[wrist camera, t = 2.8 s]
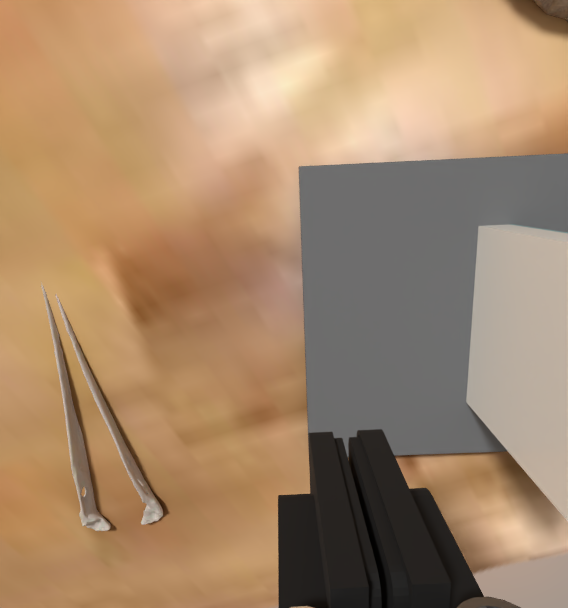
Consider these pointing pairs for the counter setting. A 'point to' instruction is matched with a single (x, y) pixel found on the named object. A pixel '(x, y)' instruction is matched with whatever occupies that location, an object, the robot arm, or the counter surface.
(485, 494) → the counter surface
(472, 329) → the tile
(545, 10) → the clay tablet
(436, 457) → the counter surface
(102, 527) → the old metal nails
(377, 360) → the mat
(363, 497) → the robot arm
